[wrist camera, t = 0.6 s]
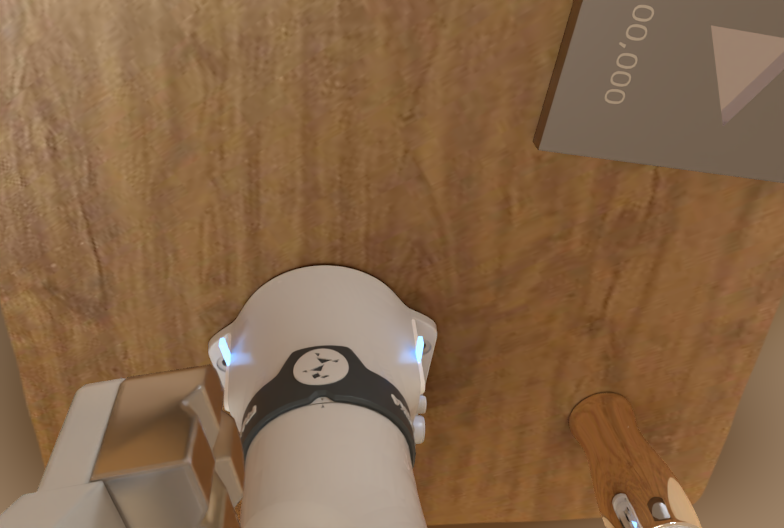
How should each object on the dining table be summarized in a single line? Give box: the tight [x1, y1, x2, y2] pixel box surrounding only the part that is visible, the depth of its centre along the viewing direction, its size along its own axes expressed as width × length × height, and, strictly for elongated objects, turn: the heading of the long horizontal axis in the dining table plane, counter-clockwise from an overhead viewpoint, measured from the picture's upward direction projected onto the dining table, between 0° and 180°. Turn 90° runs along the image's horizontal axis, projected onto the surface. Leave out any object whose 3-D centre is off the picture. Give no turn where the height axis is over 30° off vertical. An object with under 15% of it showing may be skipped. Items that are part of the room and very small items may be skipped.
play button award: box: [533, 0, 784, 183], centre depth 52 cm, size 16×2×20 cm
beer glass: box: [569, 393, 702, 528], centre depth 64 cm, size 7×7×15 cm
